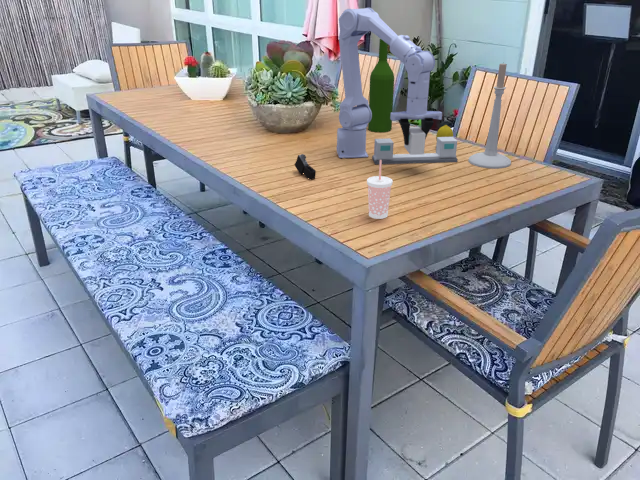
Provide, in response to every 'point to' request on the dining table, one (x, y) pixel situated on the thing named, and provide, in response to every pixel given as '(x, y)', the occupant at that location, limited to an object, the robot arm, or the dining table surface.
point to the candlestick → (493, 132)
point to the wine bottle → (381, 93)
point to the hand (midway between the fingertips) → (414, 144)
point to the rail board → (443, 154)
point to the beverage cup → (379, 195)
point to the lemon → (444, 132)
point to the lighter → (304, 167)
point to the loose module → (416, 141)
